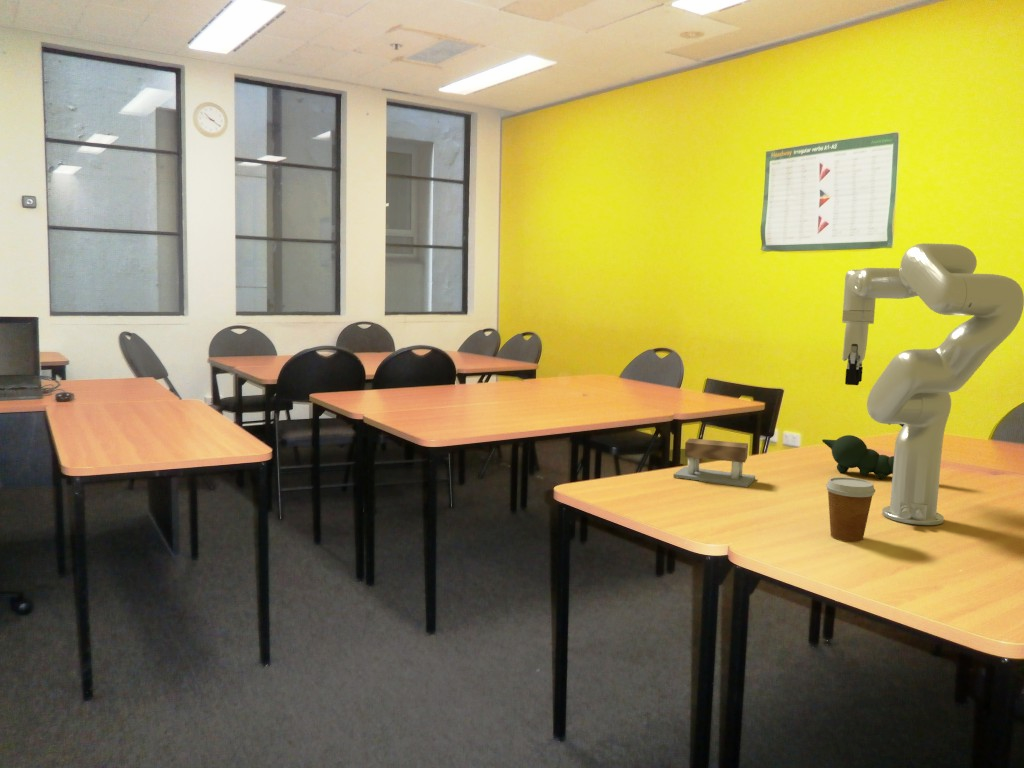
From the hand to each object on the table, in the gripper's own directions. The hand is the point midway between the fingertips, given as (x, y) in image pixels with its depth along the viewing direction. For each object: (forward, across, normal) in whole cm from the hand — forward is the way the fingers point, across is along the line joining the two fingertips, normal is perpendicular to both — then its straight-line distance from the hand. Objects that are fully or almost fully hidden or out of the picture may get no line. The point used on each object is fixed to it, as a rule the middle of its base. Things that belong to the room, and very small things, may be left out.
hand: (853, 383), depth 200 cm
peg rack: (+28, +8, -33) cm, 44 cm away
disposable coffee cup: (+28, +46, +4) cm, 54 cm away
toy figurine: (+29, -20, +4) cm, 35 cm away
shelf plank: (+22, +8, -33) cm, 40 cm away
